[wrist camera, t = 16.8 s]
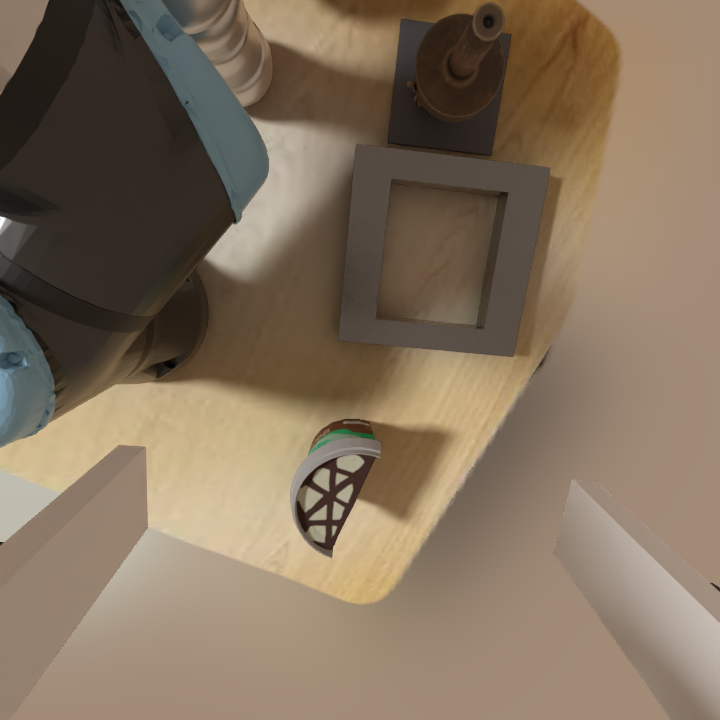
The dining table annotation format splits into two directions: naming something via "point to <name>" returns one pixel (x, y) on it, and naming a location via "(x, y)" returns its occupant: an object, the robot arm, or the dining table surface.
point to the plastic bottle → (228, 43)
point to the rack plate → (505, 260)
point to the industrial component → (460, 64)
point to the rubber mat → (414, 122)
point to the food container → (332, 481)
